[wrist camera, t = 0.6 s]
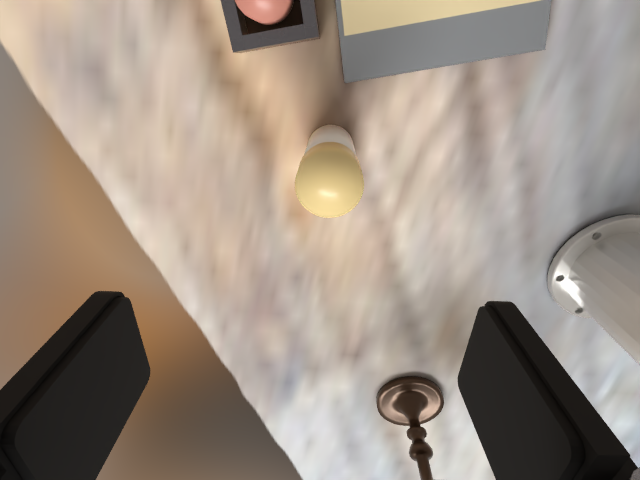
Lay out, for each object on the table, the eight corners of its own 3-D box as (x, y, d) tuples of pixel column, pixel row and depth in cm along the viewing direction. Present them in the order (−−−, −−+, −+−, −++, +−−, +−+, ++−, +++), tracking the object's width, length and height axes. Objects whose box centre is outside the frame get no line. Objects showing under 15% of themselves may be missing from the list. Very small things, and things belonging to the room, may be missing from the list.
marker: (351, 119, 32) (360, 146, 22) (357, 168, 34) (366, 213, 24) (302, 127, 32) (288, 157, 22) (310, 175, 34) (301, 221, 24)
